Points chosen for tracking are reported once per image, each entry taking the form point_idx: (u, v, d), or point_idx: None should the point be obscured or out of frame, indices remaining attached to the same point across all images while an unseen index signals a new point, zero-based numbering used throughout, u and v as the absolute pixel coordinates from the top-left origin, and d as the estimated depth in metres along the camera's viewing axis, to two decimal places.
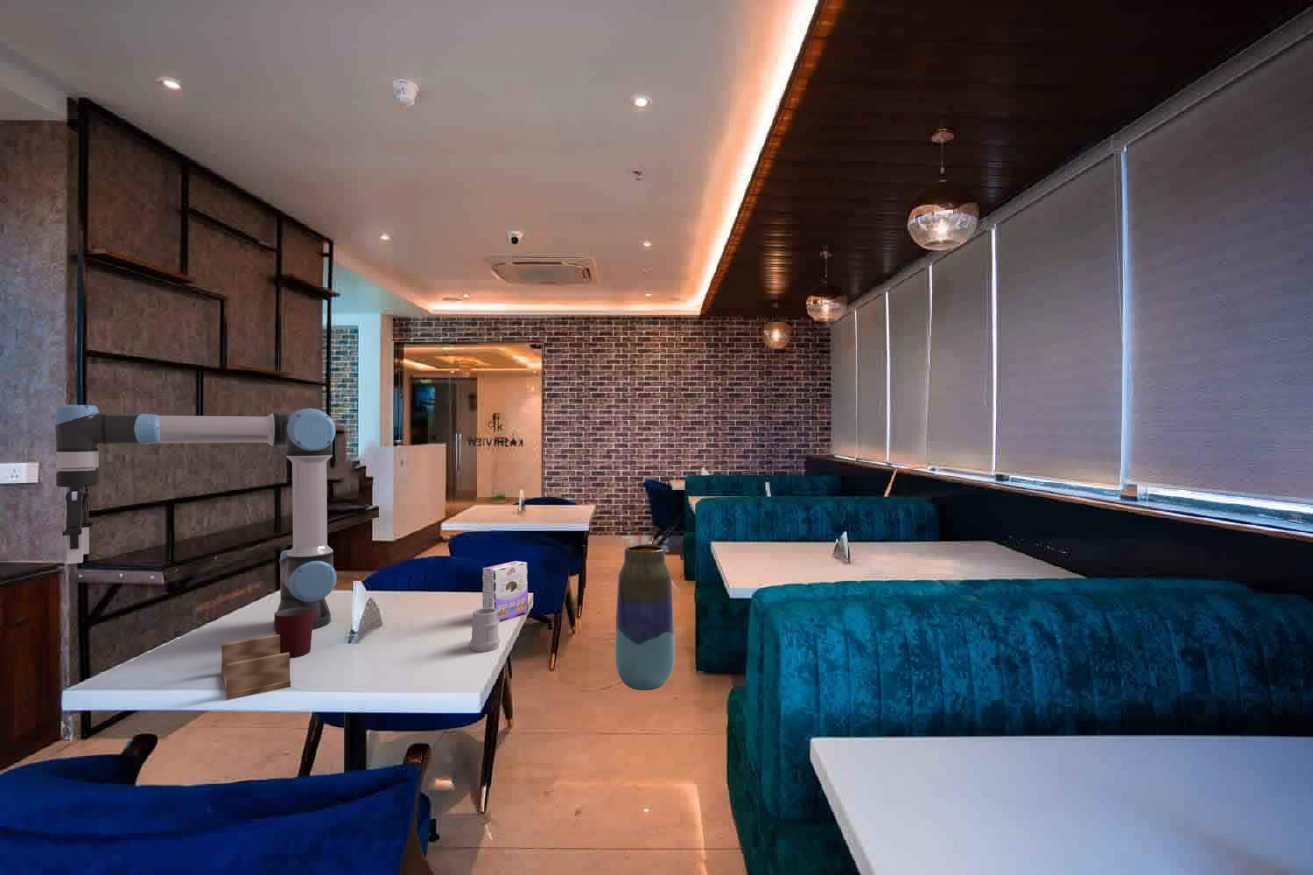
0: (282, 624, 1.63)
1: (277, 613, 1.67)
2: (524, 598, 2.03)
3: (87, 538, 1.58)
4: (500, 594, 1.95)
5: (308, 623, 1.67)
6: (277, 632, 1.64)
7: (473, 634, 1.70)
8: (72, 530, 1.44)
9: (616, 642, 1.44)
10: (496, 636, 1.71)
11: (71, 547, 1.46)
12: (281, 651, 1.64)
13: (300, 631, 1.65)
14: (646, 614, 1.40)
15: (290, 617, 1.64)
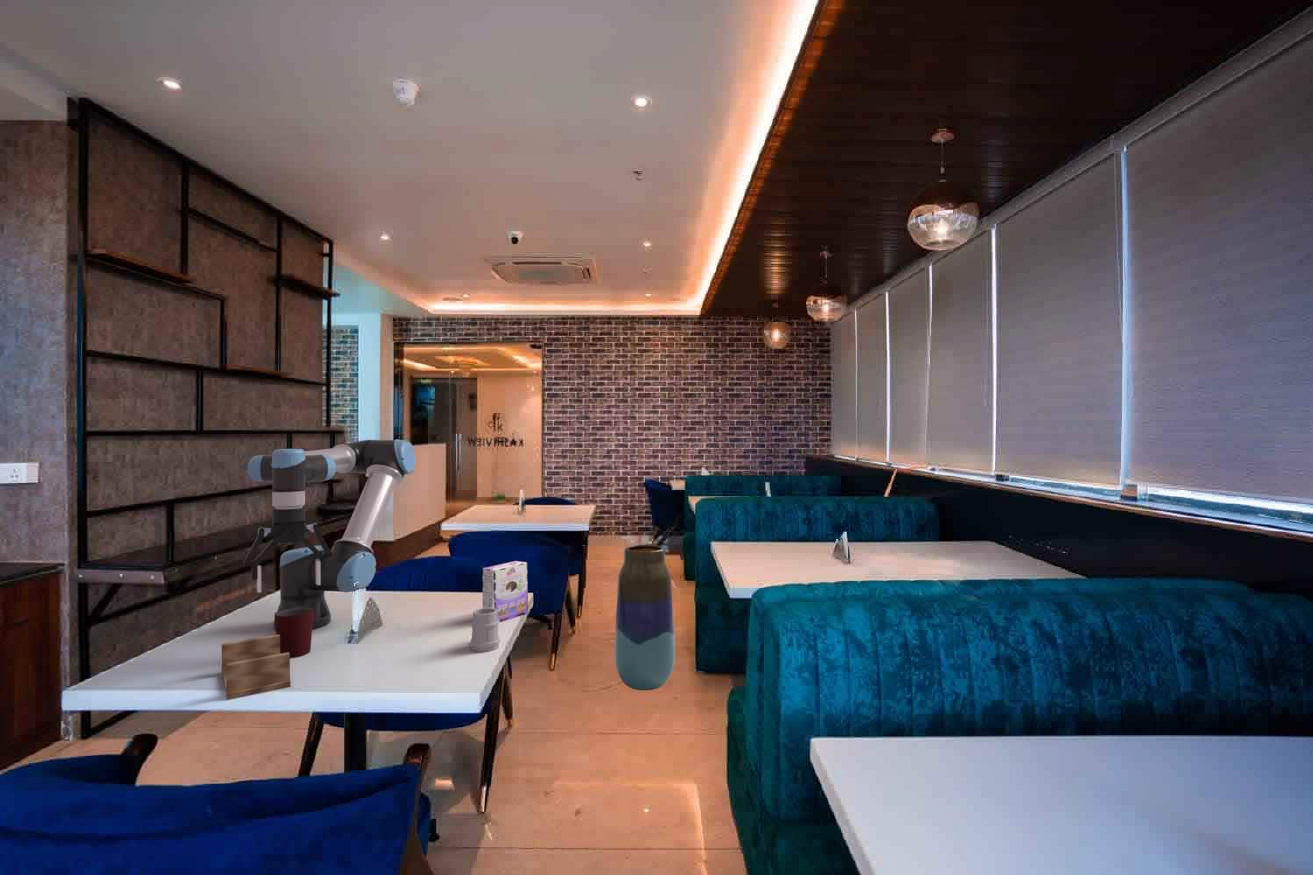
0: (282, 624, 1.63)
1: (277, 613, 1.67)
2: (524, 598, 2.03)
3: (317, 570, 1.71)
4: (500, 594, 1.95)
5: (308, 623, 1.67)
6: (277, 632, 1.64)
7: (473, 634, 1.70)
8: (243, 562, 1.63)
9: (616, 642, 1.44)
10: (496, 636, 1.71)
11: (252, 577, 1.64)
12: (281, 651, 1.64)
13: (300, 631, 1.65)
14: (646, 614, 1.40)
15: (290, 617, 1.64)
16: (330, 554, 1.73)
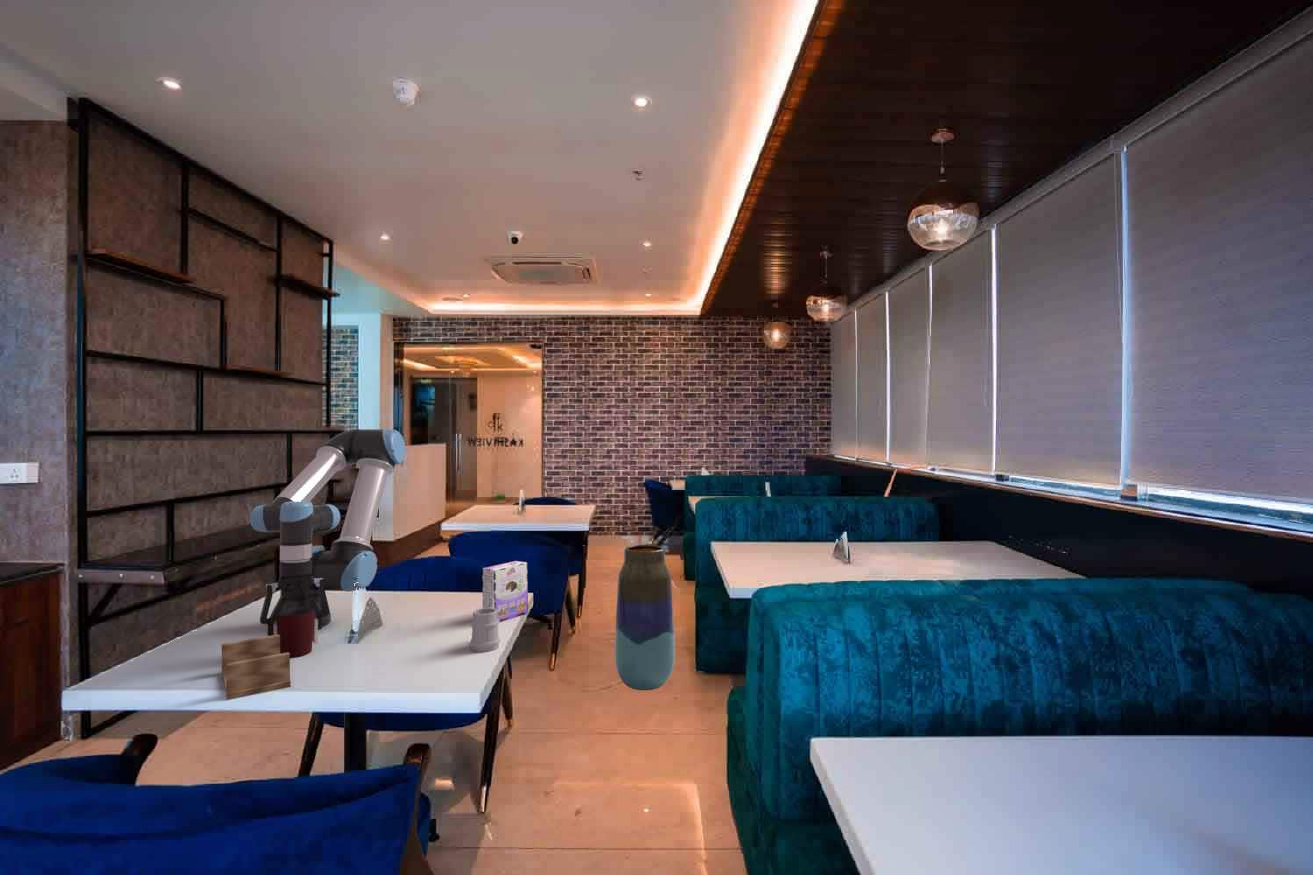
0: (283, 623, 1.64)
1: None
2: (524, 598, 2.03)
3: (314, 629, 1.71)
4: (500, 594, 1.95)
5: (310, 623, 1.67)
6: (279, 632, 1.64)
7: (473, 634, 1.70)
8: (260, 621, 1.64)
9: (616, 642, 1.44)
10: (496, 636, 1.71)
11: (268, 634, 1.66)
12: (283, 651, 1.64)
13: (302, 631, 1.65)
14: (646, 614, 1.40)
15: (292, 617, 1.64)
16: (328, 612, 1.73)
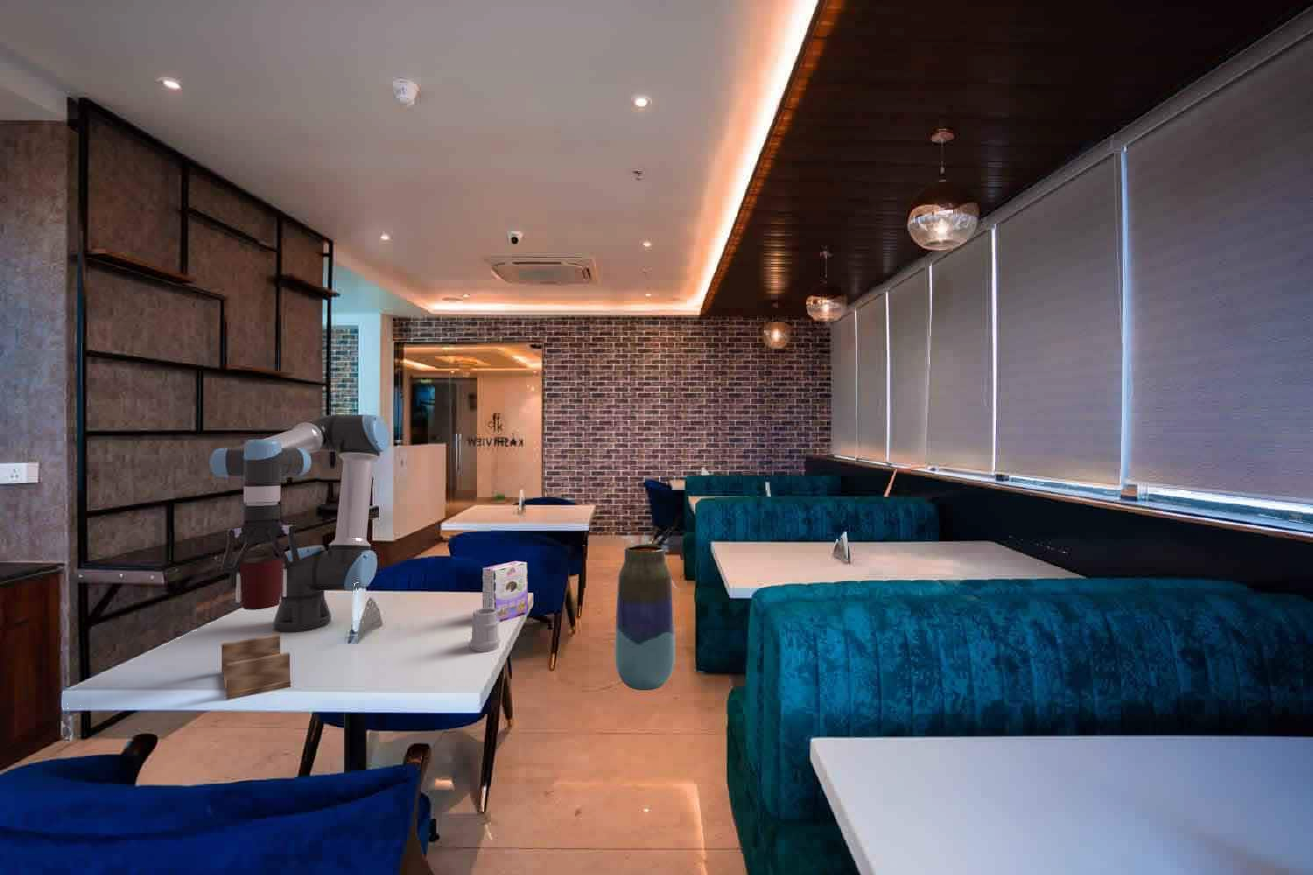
0: (247, 571, 1.48)
1: (243, 561, 1.52)
2: (524, 598, 2.03)
3: (282, 580, 1.55)
4: (500, 594, 1.95)
5: (277, 572, 1.51)
6: (242, 581, 1.48)
7: (473, 634, 1.70)
8: (221, 569, 1.48)
9: (616, 642, 1.44)
10: (496, 636, 1.71)
11: None
12: (246, 602, 1.48)
13: (268, 580, 1.49)
14: (646, 614, 1.40)
15: (256, 564, 1.48)
16: (298, 562, 1.57)
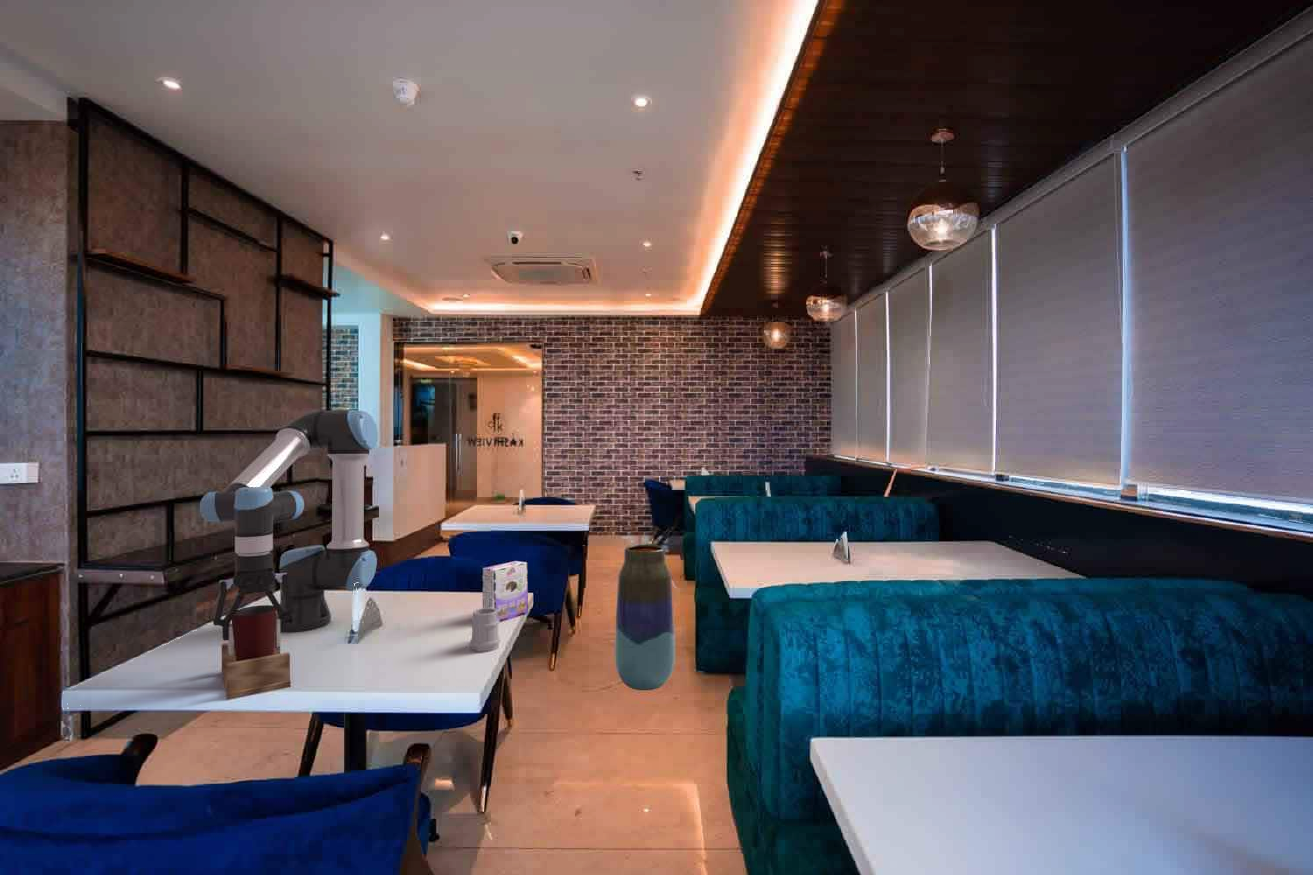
0: (240, 624, 1.44)
1: None
2: (524, 598, 2.03)
3: (276, 630, 1.52)
4: (500, 594, 1.95)
5: (270, 623, 1.48)
6: (234, 634, 1.45)
7: (473, 634, 1.70)
8: (213, 622, 1.45)
9: (616, 642, 1.44)
10: (496, 636, 1.71)
11: None
12: (239, 655, 1.45)
13: (261, 632, 1.46)
14: (646, 614, 1.40)
15: (249, 617, 1.45)
16: (292, 611, 1.53)
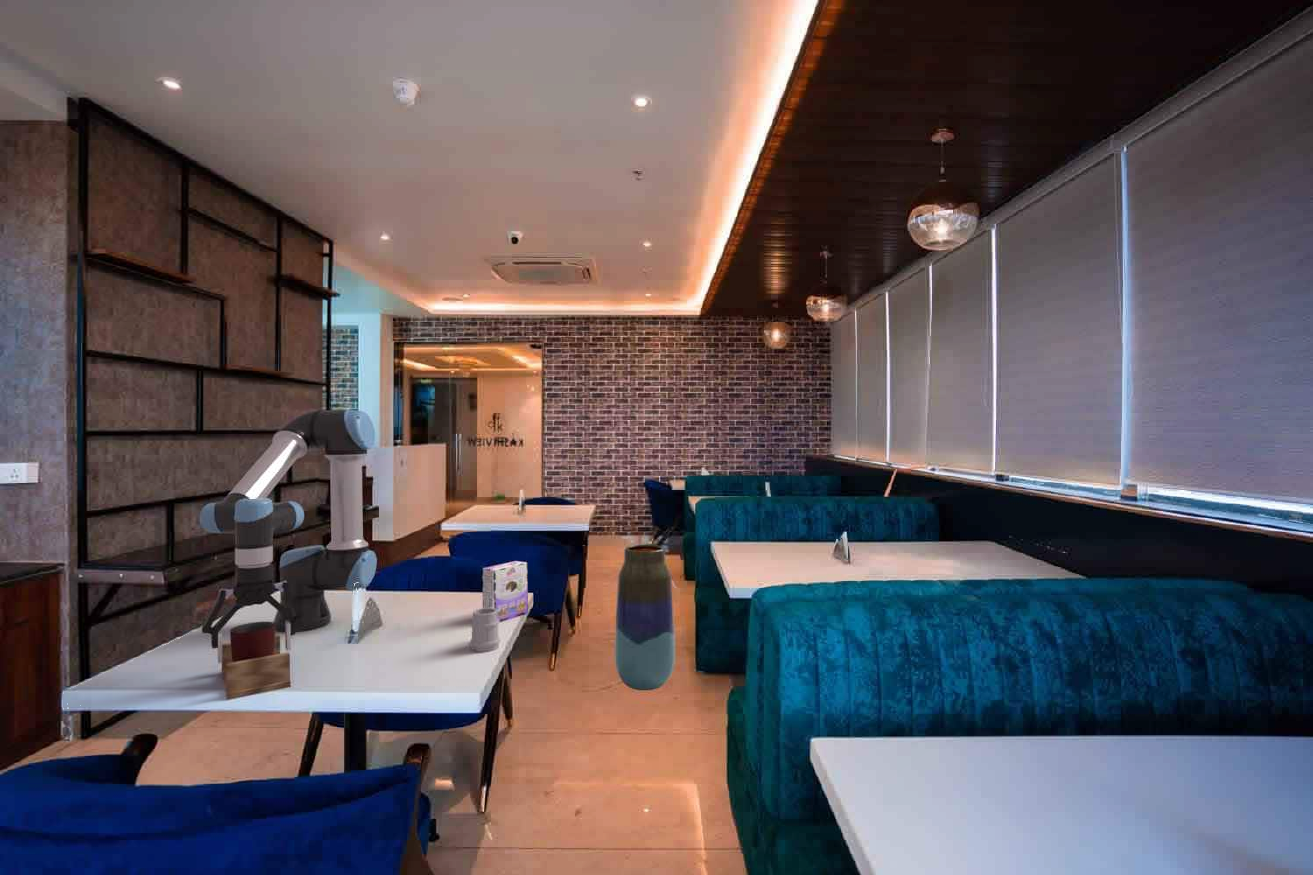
0: (239, 642, 1.45)
1: (233, 629, 1.48)
2: (524, 598, 2.03)
3: (286, 634, 1.53)
4: (500, 594, 1.95)
5: (269, 640, 1.48)
6: (233, 651, 1.45)
7: (473, 634, 1.70)
8: None
9: (616, 642, 1.44)
10: (496, 636, 1.71)
11: None
12: None
13: (260, 649, 1.46)
14: (646, 614, 1.40)
15: (249, 634, 1.45)
16: (302, 615, 1.55)
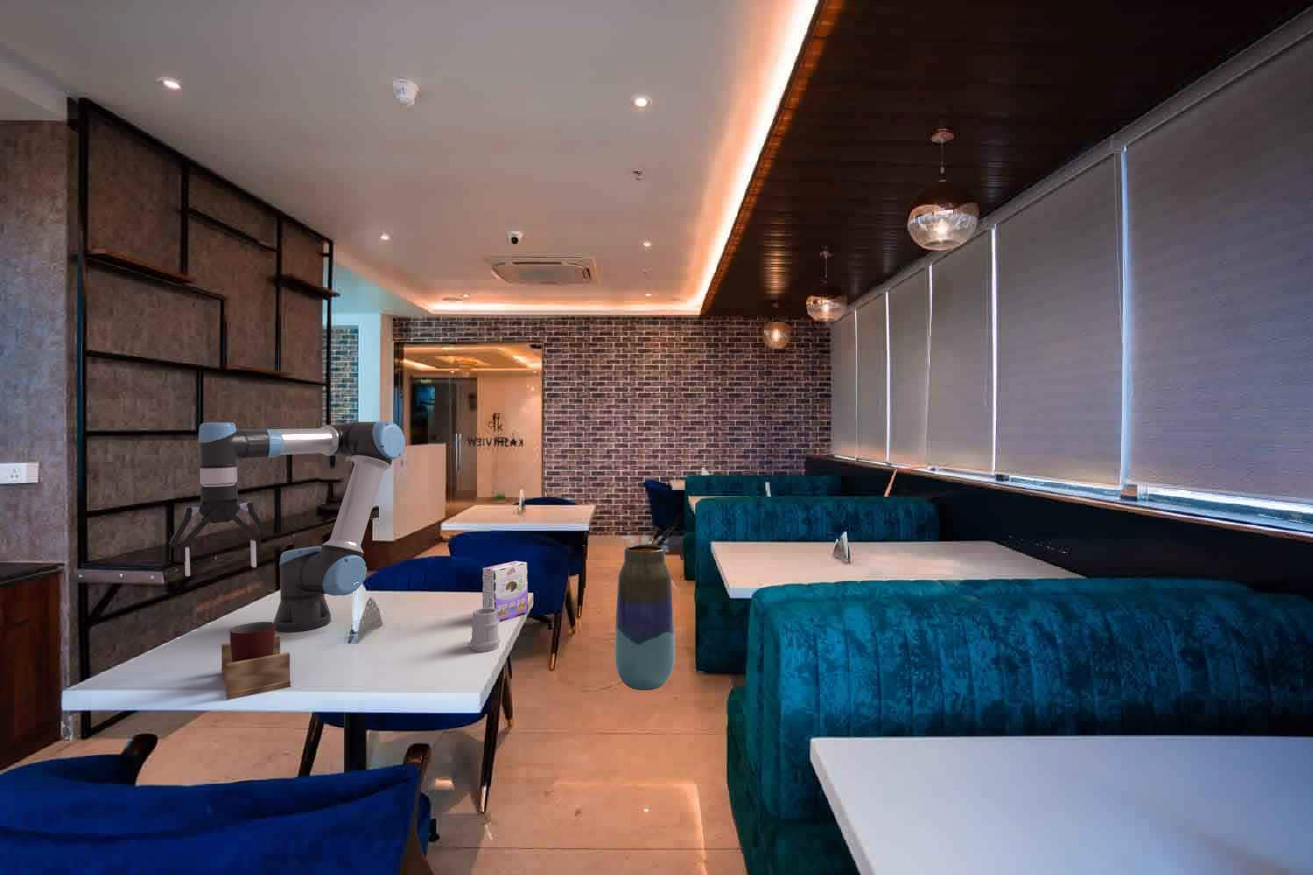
0: (239, 642, 1.45)
1: (233, 630, 1.48)
2: (524, 598, 2.03)
3: (252, 552, 1.61)
4: (500, 594, 1.95)
5: (269, 640, 1.48)
6: (233, 651, 1.45)
7: (473, 634, 1.70)
8: (169, 544, 1.51)
9: (616, 642, 1.44)
10: (496, 636, 1.71)
11: (179, 559, 1.53)
12: None
13: (260, 650, 1.46)
14: (646, 614, 1.40)
15: (248, 634, 1.45)
16: (266, 534, 1.63)
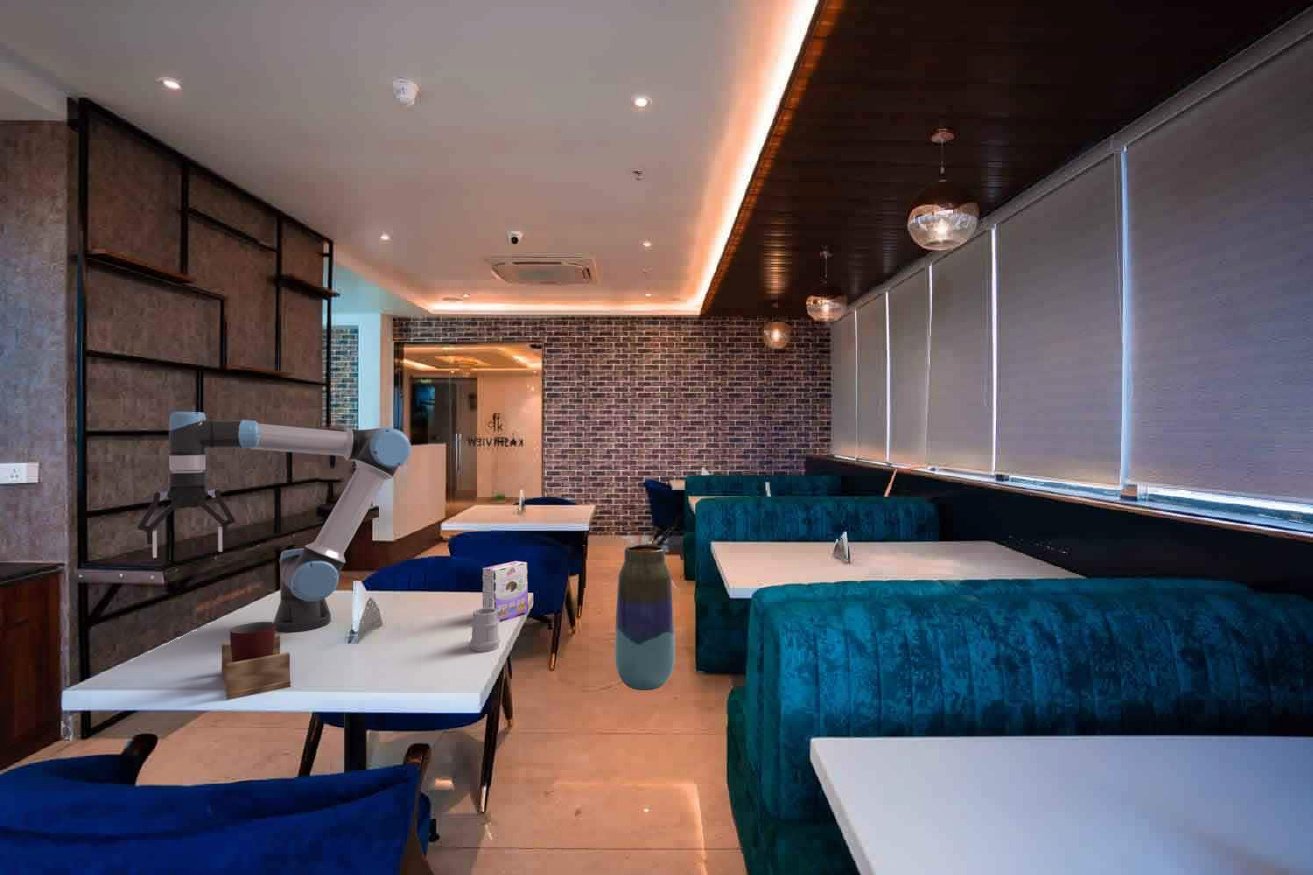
0: (239, 642, 1.45)
1: (233, 630, 1.48)
2: (524, 598, 2.03)
3: (218, 537, 1.68)
4: (500, 594, 1.95)
5: (269, 640, 1.48)
6: (233, 651, 1.45)
7: (473, 634, 1.70)
8: None
9: (616, 642, 1.44)
10: (496, 636, 1.71)
11: (147, 542, 1.60)
12: None
13: (260, 650, 1.46)
14: (646, 614, 1.40)
15: (248, 634, 1.45)
16: (233, 520, 1.70)
